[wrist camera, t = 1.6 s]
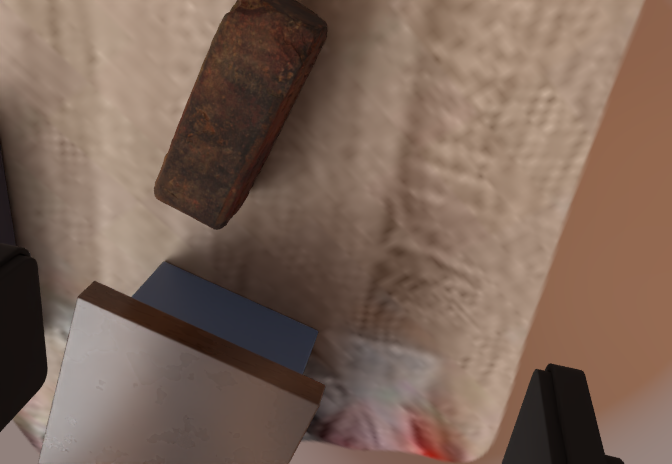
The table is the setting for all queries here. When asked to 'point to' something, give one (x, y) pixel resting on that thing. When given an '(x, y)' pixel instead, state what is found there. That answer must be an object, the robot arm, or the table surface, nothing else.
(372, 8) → the table surface
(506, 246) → the table surface
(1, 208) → the button pad
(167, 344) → the board
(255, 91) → the brick
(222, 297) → the blue box
